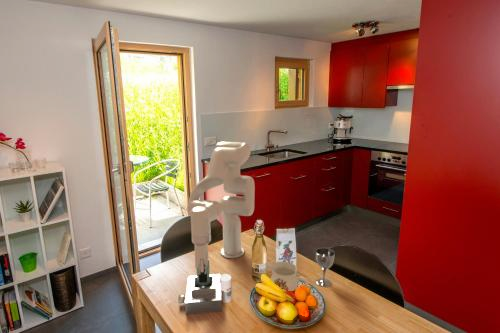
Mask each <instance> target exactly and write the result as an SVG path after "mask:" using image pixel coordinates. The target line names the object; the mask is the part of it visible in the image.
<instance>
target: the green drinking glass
mask: <svg viewBox="0 0 500 333" xmlns="http://www.w3.org/2000/svg"><path fill="white" fill-rule="evenodd" d="M204 266H205V265H204ZM195 269H196V276H197V284H198V285H201V286H205V285H208V284H209V283H210V275H211V274H210V273H211V272H210V271H211V270H210V261H209V259H208V266H207V267H206V273H207V282H205V283H199V267H198V268H195ZM204 270H205V268H204Z"/></svg>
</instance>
